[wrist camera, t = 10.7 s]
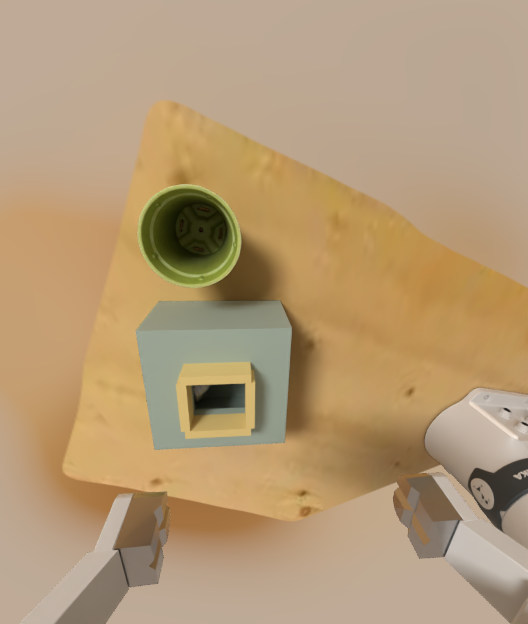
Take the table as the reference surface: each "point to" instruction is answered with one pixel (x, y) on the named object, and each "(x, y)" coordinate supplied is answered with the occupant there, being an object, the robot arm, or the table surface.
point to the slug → (201, 391)
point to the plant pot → (189, 236)
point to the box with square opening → (216, 372)
